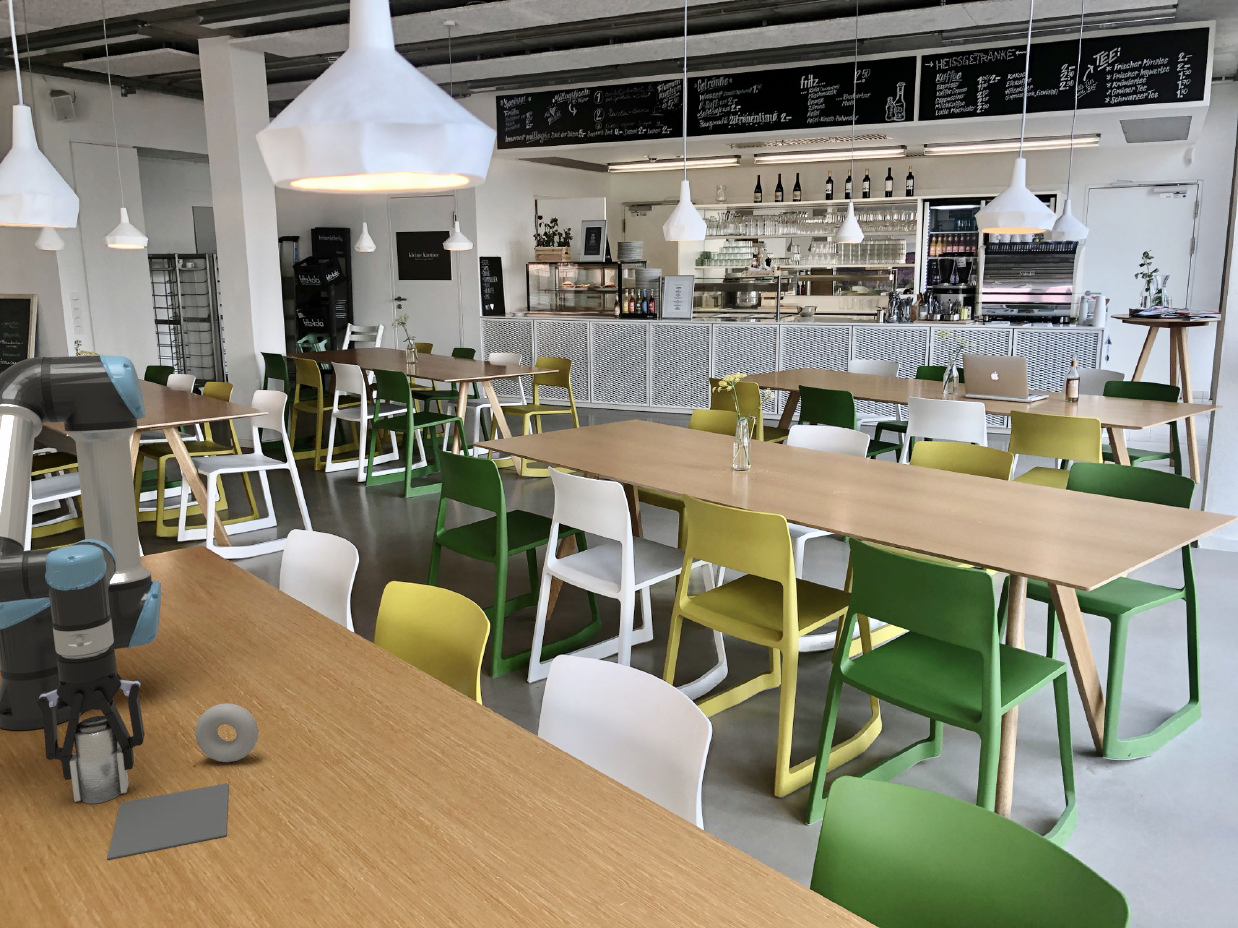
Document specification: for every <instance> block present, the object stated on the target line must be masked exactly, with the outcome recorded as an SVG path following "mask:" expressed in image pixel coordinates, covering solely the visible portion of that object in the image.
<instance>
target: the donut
mask: <svg viewBox="0 0 1238 928" xmlns="http://www.w3.org/2000/svg"><path fill="white" fill-rule="evenodd" d="M222 725H228V726H230V727H232V728H233V729H234V730H235V733H236V737H235V739H233V740H225V739H223V738H222V737H221V736H220V734H219V733H218V731H219V730H218V729H219V727H221V726H222ZM194 735H195V739H196V743H197V746H198V748H199V749H200V750H201V752H202V753H203V754H204V755H206V756H207V757H208V758H210V759H212V760H214V761H216V762H222V763H231V762H232V763H233V762H237V761H240V760H242V759H243V758H245V757H247V756H248V755H249V754H250V753H251V752H252V751H253V750H254V748H255V746H256V744H257V742H258V740H259V739H258V738H259V727H258V723H257V720H256V719H255V717H254V716H253V714H252V713H251V712H250V711H249V710H248V709H247V708H245V707H243V706H240V705H239V704H234V703H228V702H226V703H225V702H224V703H219V704H215V705H213V706H211V707H210V708H208V709H206V710H205V711H204V712H203V713H202V714H201V715H200V716H199V719H198V721H197V723H196V725H195V734H194Z"/></svg>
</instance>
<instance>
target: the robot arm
mask: <svg viewBox="0 0 1238 928" xmlns="http://www.w3.org/2000/svg"><path fill="white" fill-rule="evenodd" d="M141 387H142V386H141V383H140V380H139V376H138V373H137V369H136V368H135V365H134V363H133V362H132V360H131V359H129V358H128V357H126V356H123V355H106V354H99V355H80V356H79V355H77V356H76V355H75V356H73V355H72V356H49V357H48V356H47V357H46V356H36V357H30V358H26V359H24V360H21V361H18V362H16V363H14V364H12V365H11V366H9V367H8V368H6V369H5V370H3V371H2V372H1V373H0V728H1V729H4V730H9V731H28V730H36V729H41V728H43V731H44V732H43V733H44V746H45V757H46V759H47V760H48V761H53V760H59V761H60V762H61V767H62V774H63V775H62V776H63V779H64V780H65V781H70V780H71V784H72V792H73V793H72V794H73V800H74V802H81V801H82V798H81V790H80V782H79V774H78V765H77V757H76V752H75V753H73V750H74V747H75V741H74V737H75V733H76V730H77V728H78V727H77V726H78V724H79V723H80V719H81V716H82V715H81V714H83V713H85V712H88V711H93V710H94V711H98V710H99V711H101V713H102V714H103V715H102V716H105V717H106V719H107V721H108V723H109V725H110V727H111V729H112V731H113V733H114V735H115V737H116V739H117V741H118V748H119V749H118V752H117V761H118V770H119V779H120V788H121V794H126V793H128V789H129V784H130V783H129V776H128V775H129V773H128V770H133V767H134V763H135V760H134V759H135V758H134V748H135V747H137V746H141V745H143V743H144V741H145V728H144V721H143V715H142V714H143V713H142V709H141V703H140V697H139V693H140V689H141V685H142V681H141V680H140V679H139V678H135V679H133V681H132V680H126V679H125V680H123V679H122V677H121V676H120V675H119V673H118V671H117V669H118V667H117V659H116V658H117V657H116V650H117V649H118V650H119V649H126V648H127V649H131V648H133V647H138V646H139V647H140V646H145V645H149V644H152V643H153V642H154V641H155V640H156V639H157V637H158V634H159V633H158V632H159V626H160V617H161V603H162V601H161V600H162V583H161V582H160V581H158V580H152V572H151V570H149V569H148V568H147V567H145V566H144V565H142V560H141V551H140V549H141V548H140V542H139V541H140V539H139V529H138V520H137V509H136V507H137V506H136V497H135V496H136V495H135V487H134V484H135V483H134V475H133V466H132V465H133V464H132V463H133V462H132V455H131V454H132V453H131V443H130V438H131V436H132V435H133V434H134V433H135V432H136V431H137V429H139V427H138V420H141V419H144V418H145V417H146V408H145V401H144V395H143V391H142V388H141ZM46 423H63V426H64V427H63V428H64V433H65V434H66V435H68V436H69V437H70V438H71V439H73V441H74V442H75V447H76V457H77V469H78V477H79V488H80V489H79V490H80V497H81V508H82V519H83V529H84V538H85V539H83V540H80V541H78V542H75V543H73V544H72V545H69V546H68V545H67V546H61V547H53V548H45V549H44V548H42V549H30V550H25V545H26V535H27V534H26V533H27V526H28V523H27V522H28V514H29V501H30V499H29V498H30V490H31V479H32V467H33V454H34V447H35V446H34V445H35V438H37V437H38V436H39V435H40V433H41V432H42V429H43V424H46ZM119 690H122V691H123V695H124V696H125V697H127V706H128V711H129V717H130V724H131V731H132V736H131V734H130V732H129V731H128V728H127V727H126V724H125V722H124V720H123V719H122V716H121V714H120V711H119V709H118V707H117V706H116V702H115V699H114V697H116V696H115V695H117V693H118V691H119ZM67 721H68V723H67V727H66V731H65V736H64V740H63V745H62V747H59V737H58V726H57V725H59V724H61V723H64V722H67Z"/></svg>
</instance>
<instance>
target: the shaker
mask: <svg viewBox="0 0 1238 928" xmlns="http://www.w3.org/2000/svg"><path fill="white" fill-rule="evenodd" d="M77 727H78V728H77V730H76V733H75V737H74V741H75V742H74V748H75V753H76V757H77V765H78V774H79V782H80V790H81V801H82V802H83V803H85V804H91V805H93V804H101V803H106V802H108V801H111V800H113V799H116V798H117V797H119V796H120V795H121V794H122V793H121V788H120V779H119V770H118V761H117V752H118V749H119V743H118V741H117V739H116V737H115V735H114V733H113V731H112V729H111V727H110V725H109V723H108V721H107V719H106V717H105V715H95V716H91V717H87V718H85V719H82V720H81V721H79V724H78V726H77Z"/></svg>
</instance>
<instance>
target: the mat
mask: <svg viewBox="0 0 1238 928" xmlns="http://www.w3.org/2000/svg"><path fill="white" fill-rule="evenodd" d="M228 806H229V782H227V783H222V784H216V785H211V786H205V787H204V786H203V787H199V788H194V789H187V790H182V791H178V792H177V791H176V792H172V793H166V794H161V795H160V794H159V795H155V796H150V797H149V796H148V797H143V798H138V799H134V800H133V799H132V800H126V801H122V802H121V801H120V803H119V808H118V813H117V816H116V820H115V824H114V828H113V832H112V836H111V839H110V840H111V841H110V844H109V847H108V848H109V849H108V852H107V856H106V860H107V861H110V860H114V859H119V858H124V857H130V856H134V855H141V854H145V853H149V852H155V851H158V850H159V851H160V850H164V849H169V848H174V847H180V846H184V845H185V846H186V845H189V844H194V843H199V842H205V841H209V840H215V839H219V838H220V839H221V838H224V837H227V832H228V829H227V827H228V812H229V811H228V808H229V807H228Z"/></svg>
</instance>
